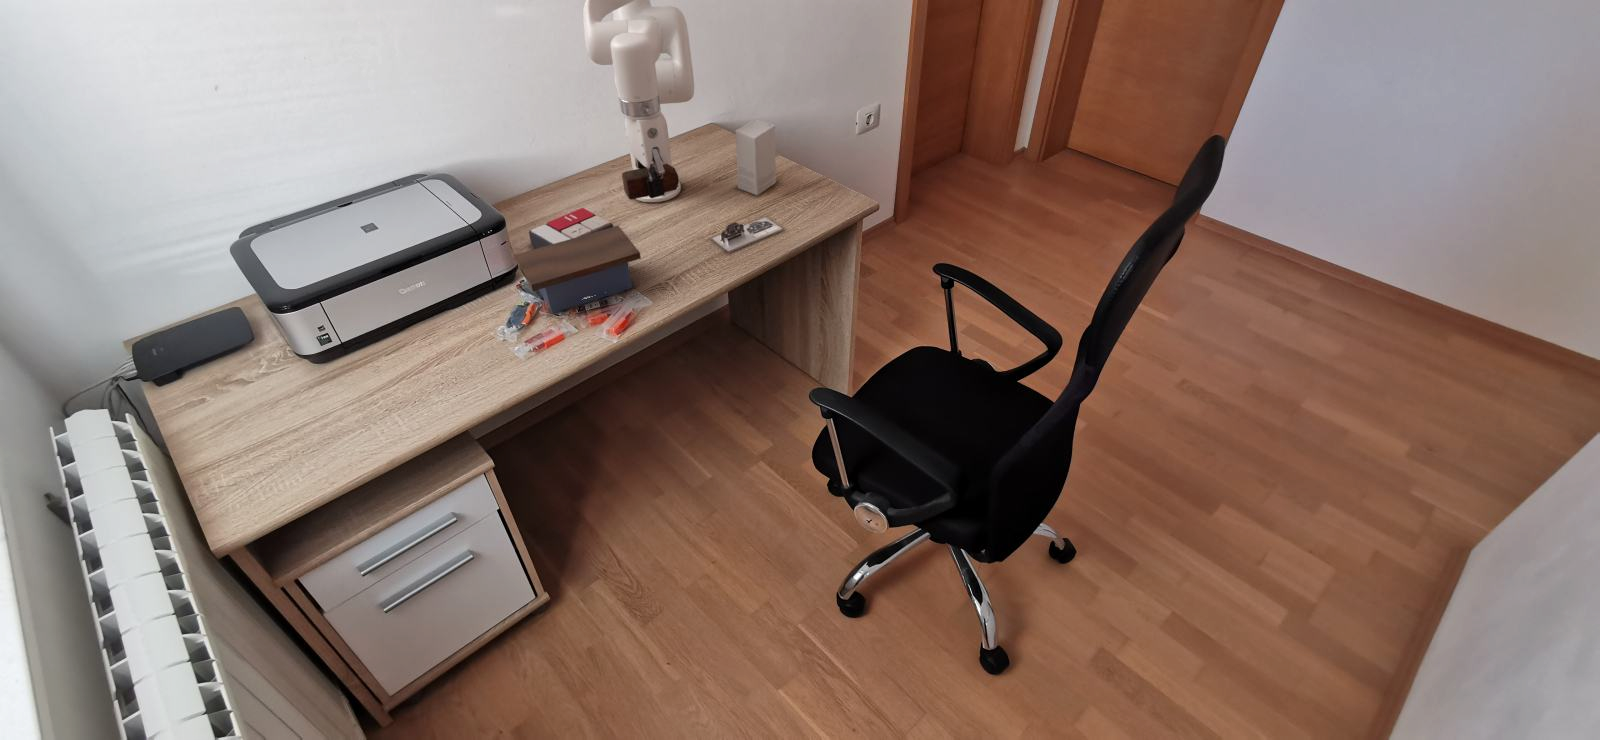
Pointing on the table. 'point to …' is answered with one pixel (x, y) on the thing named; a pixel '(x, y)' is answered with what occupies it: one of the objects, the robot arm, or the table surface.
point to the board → (576, 257)
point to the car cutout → (745, 233)
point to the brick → (638, 181)
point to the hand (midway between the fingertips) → (651, 190)
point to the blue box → (587, 288)
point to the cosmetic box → (756, 156)
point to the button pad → (568, 228)
